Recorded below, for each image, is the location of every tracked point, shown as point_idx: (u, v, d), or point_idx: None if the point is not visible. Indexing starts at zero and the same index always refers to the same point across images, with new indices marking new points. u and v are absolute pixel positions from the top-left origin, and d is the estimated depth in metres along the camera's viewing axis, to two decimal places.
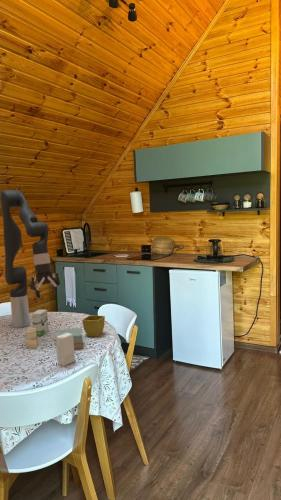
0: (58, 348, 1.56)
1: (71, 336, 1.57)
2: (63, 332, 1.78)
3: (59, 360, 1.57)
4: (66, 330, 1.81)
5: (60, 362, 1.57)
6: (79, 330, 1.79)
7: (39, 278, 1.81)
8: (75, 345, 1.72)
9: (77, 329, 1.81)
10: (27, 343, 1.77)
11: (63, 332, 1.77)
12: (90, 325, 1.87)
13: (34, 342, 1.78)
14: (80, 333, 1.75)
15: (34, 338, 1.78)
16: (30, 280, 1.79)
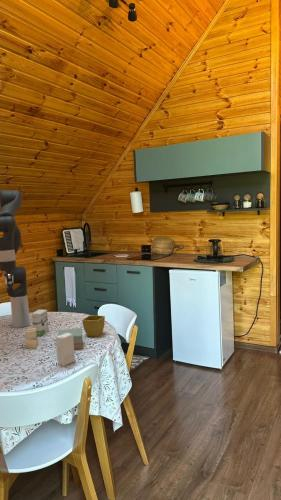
0: (58, 348, 1.56)
1: (71, 336, 1.57)
2: (63, 332, 1.78)
3: (59, 360, 1.57)
4: (66, 330, 1.81)
5: (60, 362, 1.57)
6: (79, 331, 1.79)
7: (5, 274, 1.79)
8: (75, 345, 1.72)
9: (77, 329, 1.81)
10: (27, 343, 1.77)
11: (63, 332, 1.77)
12: (90, 325, 1.87)
13: (34, 342, 1.78)
14: (80, 333, 1.75)
15: (34, 338, 1.78)
16: None
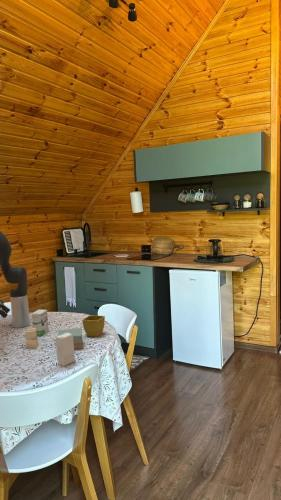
0: (58, 348, 1.56)
1: (71, 336, 1.57)
2: (63, 332, 1.78)
3: (59, 360, 1.57)
4: (66, 330, 1.81)
5: (60, 362, 1.57)
6: (79, 330, 1.79)
7: None
8: (75, 345, 1.72)
9: (77, 329, 1.81)
10: (27, 343, 1.77)
11: (63, 332, 1.77)
12: (90, 325, 1.87)
13: (34, 342, 1.78)
14: (80, 333, 1.75)
15: (34, 338, 1.78)
16: None
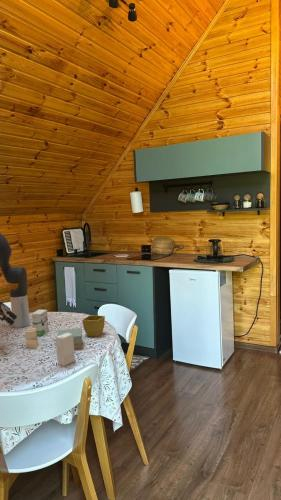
0: (58, 348, 1.56)
1: (71, 336, 1.57)
2: (63, 332, 1.78)
3: (59, 360, 1.57)
4: (66, 330, 1.81)
5: (60, 362, 1.57)
6: (79, 331, 1.79)
7: None
8: (75, 345, 1.72)
9: (77, 329, 1.81)
10: (27, 343, 1.77)
11: (63, 333, 1.77)
12: (90, 325, 1.87)
13: (34, 342, 1.78)
14: (80, 334, 1.75)
15: (34, 338, 1.78)
16: (2, 304, 1.82)
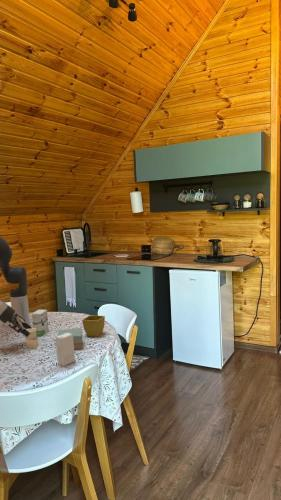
0: (58, 348, 1.56)
1: (71, 336, 1.57)
2: (63, 332, 1.78)
3: (59, 360, 1.57)
4: (67, 330, 1.81)
5: (60, 362, 1.57)
6: (79, 331, 1.79)
7: None
8: (75, 345, 1.72)
9: (77, 329, 1.81)
10: (27, 343, 1.77)
11: (63, 332, 1.77)
12: (90, 325, 1.87)
13: (34, 342, 1.78)
14: (80, 333, 1.75)
15: (34, 338, 1.78)
16: (17, 316, 1.84)
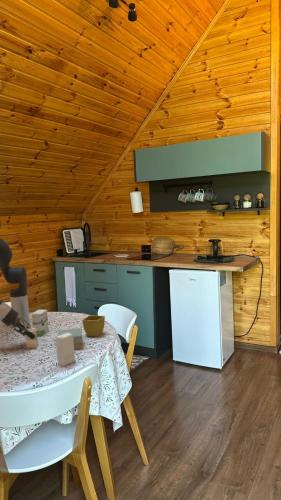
0: (58, 348, 1.56)
1: (71, 336, 1.57)
2: (63, 332, 1.78)
3: (59, 360, 1.57)
4: (66, 330, 1.81)
5: (60, 362, 1.57)
6: (79, 331, 1.79)
7: None
8: (75, 346, 1.72)
9: (77, 329, 1.81)
10: (27, 343, 1.77)
11: (63, 333, 1.77)
12: (90, 325, 1.87)
13: (34, 342, 1.78)
14: (80, 333, 1.75)
15: (34, 338, 1.78)
16: (22, 320, 1.84)
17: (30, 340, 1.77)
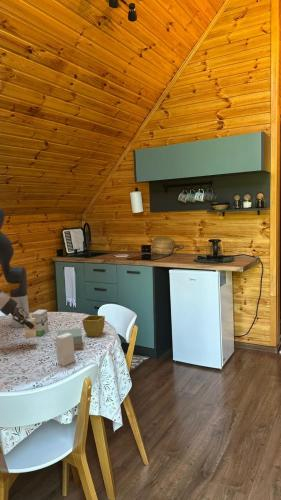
0: (58, 348, 1.56)
1: (71, 336, 1.57)
2: (63, 332, 1.77)
3: (59, 360, 1.57)
4: (66, 330, 1.81)
5: (60, 362, 1.57)
6: (79, 331, 1.78)
7: None
8: (75, 345, 1.72)
9: (77, 329, 1.80)
10: (26, 333, 1.77)
11: (62, 333, 1.77)
12: (90, 325, 1.87)
13: (33, 331, 1.77)
14: (79, 334, 1.74)
15: (33, 328, 1.77)
16: (21, 310, 1.84)
17: (29, 330, 1.77)
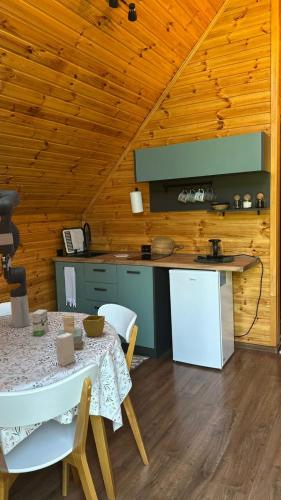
0: (58, 348, 1.56)
1: (71, 336, 1.57)
2: (63, 332, 1.78)
3: (59, 360, 1.57)
4: None
5: (60, 362, 1.57)
6: (79, 331, 1.78)
7: None
8: (74, 345, 1.72)
9: (77, 329, 1.81)
10: (64, 329, 1.74)
11: (63, 332, 1.77)
12: (90, 325, 1.87)
13: (72, 328, 1.74)
14: (79, 334, 1.74)
15: (72, 324, 1.74)
16: (9, 256, 1.86)
17: (68, 326, 1.74)
